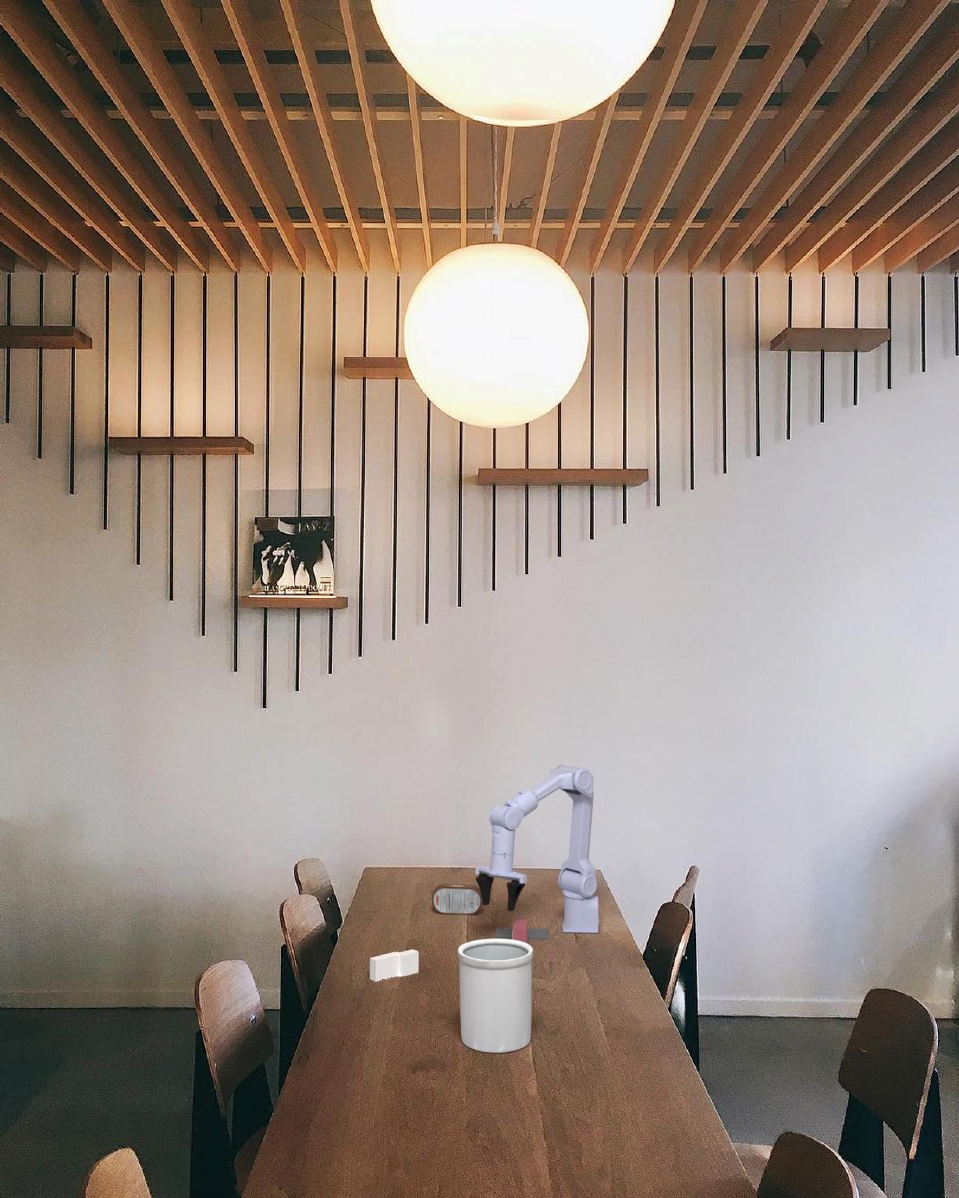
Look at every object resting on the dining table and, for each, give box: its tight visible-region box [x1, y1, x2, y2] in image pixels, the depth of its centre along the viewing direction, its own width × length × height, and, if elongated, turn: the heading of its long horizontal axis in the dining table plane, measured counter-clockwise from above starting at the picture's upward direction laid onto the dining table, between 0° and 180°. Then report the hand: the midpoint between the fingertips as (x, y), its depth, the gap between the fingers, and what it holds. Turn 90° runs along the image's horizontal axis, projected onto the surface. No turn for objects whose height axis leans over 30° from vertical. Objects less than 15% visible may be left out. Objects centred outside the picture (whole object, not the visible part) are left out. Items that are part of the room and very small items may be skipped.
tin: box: [431, 882, 484, 916], centre depth 279 cm, size 15×3×8 cm, turn 84°
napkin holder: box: [369, 948, 420, 983], centre depth 227 cm, size 15×11×6 cm
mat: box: [494, 927, 549, 940], centre depth 260 cm, size 14×8×1 cm, turn 86°
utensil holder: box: [457, 938, 534, 1054], centre depth 191 cm, size 15×15×18 cm
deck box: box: [511, 918, 529, 944], centre depth 249 cm, size 4×9×6 cm, turn 176°
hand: (498, 907), depth 247 cm, fingers open, 7 cm apart
